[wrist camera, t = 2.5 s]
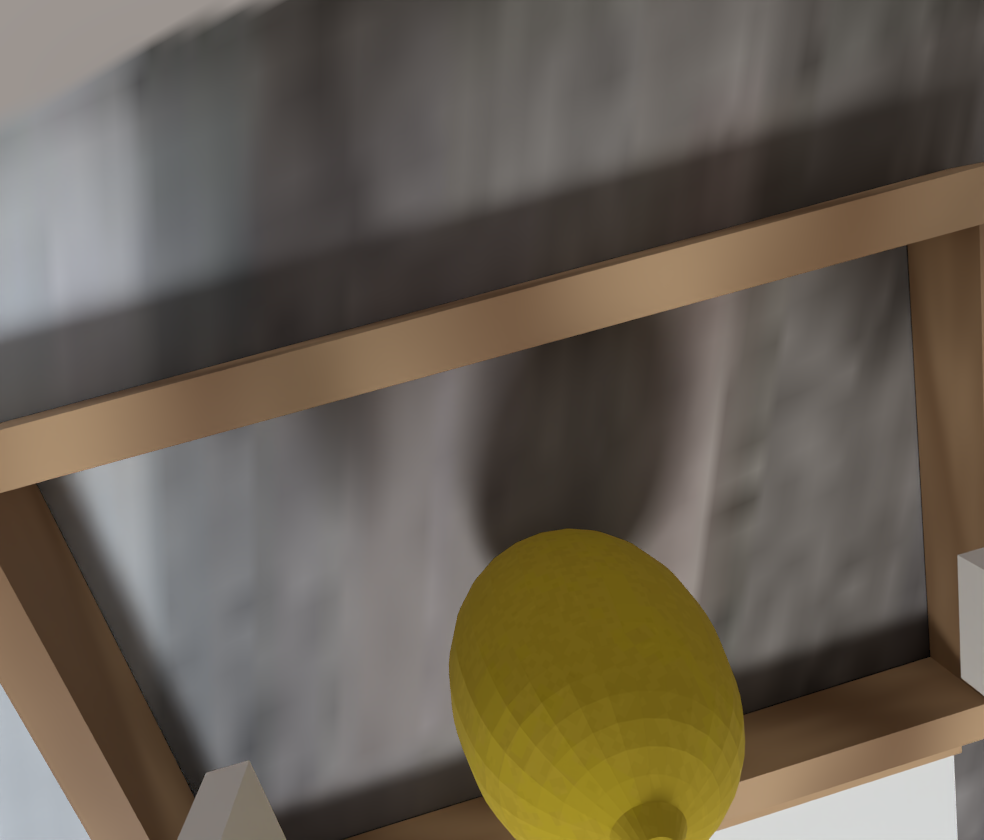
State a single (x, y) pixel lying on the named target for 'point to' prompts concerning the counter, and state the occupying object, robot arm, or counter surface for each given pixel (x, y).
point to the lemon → (594, 695)
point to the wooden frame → (474, 338)
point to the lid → (864, 808)
